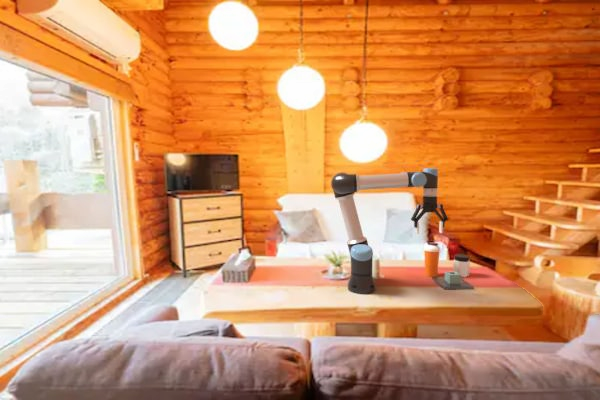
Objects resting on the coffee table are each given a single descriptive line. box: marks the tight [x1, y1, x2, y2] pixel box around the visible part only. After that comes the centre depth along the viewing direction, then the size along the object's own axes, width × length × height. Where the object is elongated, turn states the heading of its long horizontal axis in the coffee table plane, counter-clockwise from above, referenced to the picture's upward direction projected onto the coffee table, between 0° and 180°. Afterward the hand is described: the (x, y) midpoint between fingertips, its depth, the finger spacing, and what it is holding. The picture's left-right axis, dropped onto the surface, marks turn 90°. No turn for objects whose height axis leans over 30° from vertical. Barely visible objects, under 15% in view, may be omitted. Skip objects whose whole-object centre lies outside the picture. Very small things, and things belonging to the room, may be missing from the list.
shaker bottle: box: [423, 241, 441, 278], centre depth 198 cm, size 9×9×20 cm
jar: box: [452, 253, 471, 278], centre depth 198 cm, size 9×8×12 cm
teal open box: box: [444, 270, 462, 284], centre depth 183 cm, size 6×6×5 cm
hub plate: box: [431, 276, 474, 291], centre depth 183 cm, size 16×16×6 cm
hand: (429, 233), depth 184 cm, fingers open, 13 cm apart
